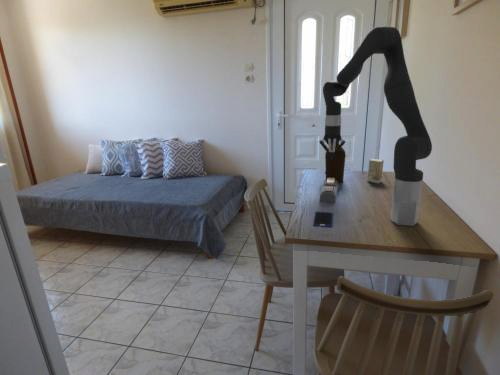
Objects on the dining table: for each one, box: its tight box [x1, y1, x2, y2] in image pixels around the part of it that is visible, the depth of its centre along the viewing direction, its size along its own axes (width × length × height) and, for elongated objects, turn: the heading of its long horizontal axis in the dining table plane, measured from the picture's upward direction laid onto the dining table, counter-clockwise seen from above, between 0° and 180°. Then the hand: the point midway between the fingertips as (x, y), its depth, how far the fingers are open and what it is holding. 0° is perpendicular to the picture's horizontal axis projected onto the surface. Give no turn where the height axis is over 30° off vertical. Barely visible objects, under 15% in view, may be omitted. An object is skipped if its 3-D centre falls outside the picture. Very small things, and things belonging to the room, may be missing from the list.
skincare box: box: [366, 158, 384, 184], centre depth 163 cm, size 6×4×12 cm
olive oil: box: [324, 141, 346, 185], centre depth 164 cm, size 11×11×25 cm
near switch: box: [324, 186, 333, 191], centre depth 143 cm, size 5×4×1 cm
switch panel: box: [319, 179, 339, 203], centre depth 149 cm, size 22×7×4 cm, turn 161°
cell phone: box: [312, 211, 334, 228], centre depth 122 cm, size 7×14×1 cm, turn 164°
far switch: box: [327, 178, 335, 184], centre depth 154 cm, size 5×4×1 cm
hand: (331, 158), depth 152 cm, fingers closed
